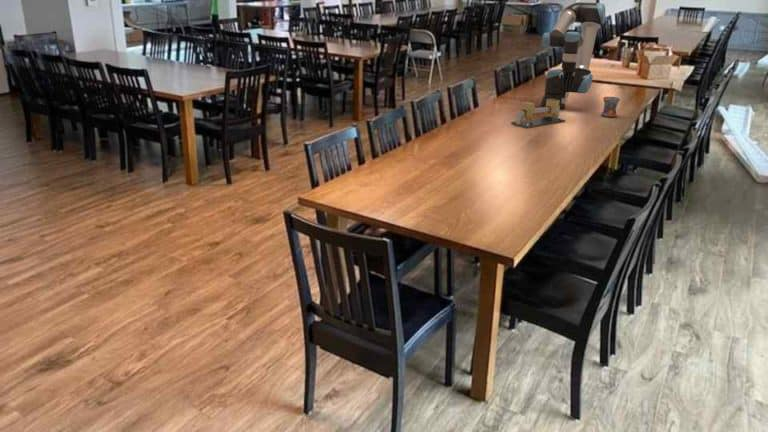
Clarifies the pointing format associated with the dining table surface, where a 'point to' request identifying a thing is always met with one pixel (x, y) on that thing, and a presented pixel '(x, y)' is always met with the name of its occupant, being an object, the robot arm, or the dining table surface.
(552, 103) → the block
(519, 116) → the dividers bar
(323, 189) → the dining table surface
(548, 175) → the dining table surface
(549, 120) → the hole plate
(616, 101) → the mug
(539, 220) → the dining table surface
